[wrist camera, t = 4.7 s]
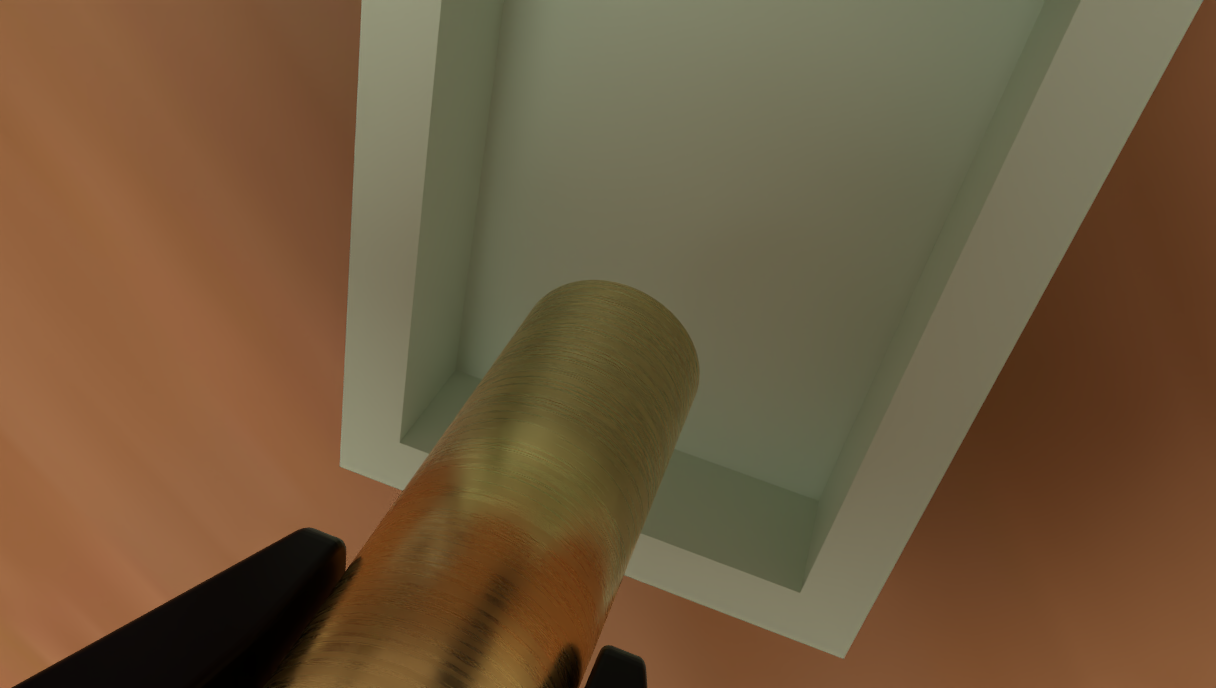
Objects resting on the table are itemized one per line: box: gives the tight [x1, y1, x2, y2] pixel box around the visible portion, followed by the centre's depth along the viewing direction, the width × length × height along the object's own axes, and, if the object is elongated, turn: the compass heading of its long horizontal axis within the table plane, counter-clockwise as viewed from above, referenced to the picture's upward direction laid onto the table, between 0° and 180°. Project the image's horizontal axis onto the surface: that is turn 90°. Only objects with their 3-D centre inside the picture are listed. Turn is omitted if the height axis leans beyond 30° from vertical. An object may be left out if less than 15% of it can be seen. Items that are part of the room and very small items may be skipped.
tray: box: [340, 0, 1203, 659], centre depth 16 cm, size 10×13×3 cm
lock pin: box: [263, 280, 700, 688], centre depth 9 cm, size 3×3×10 cm
